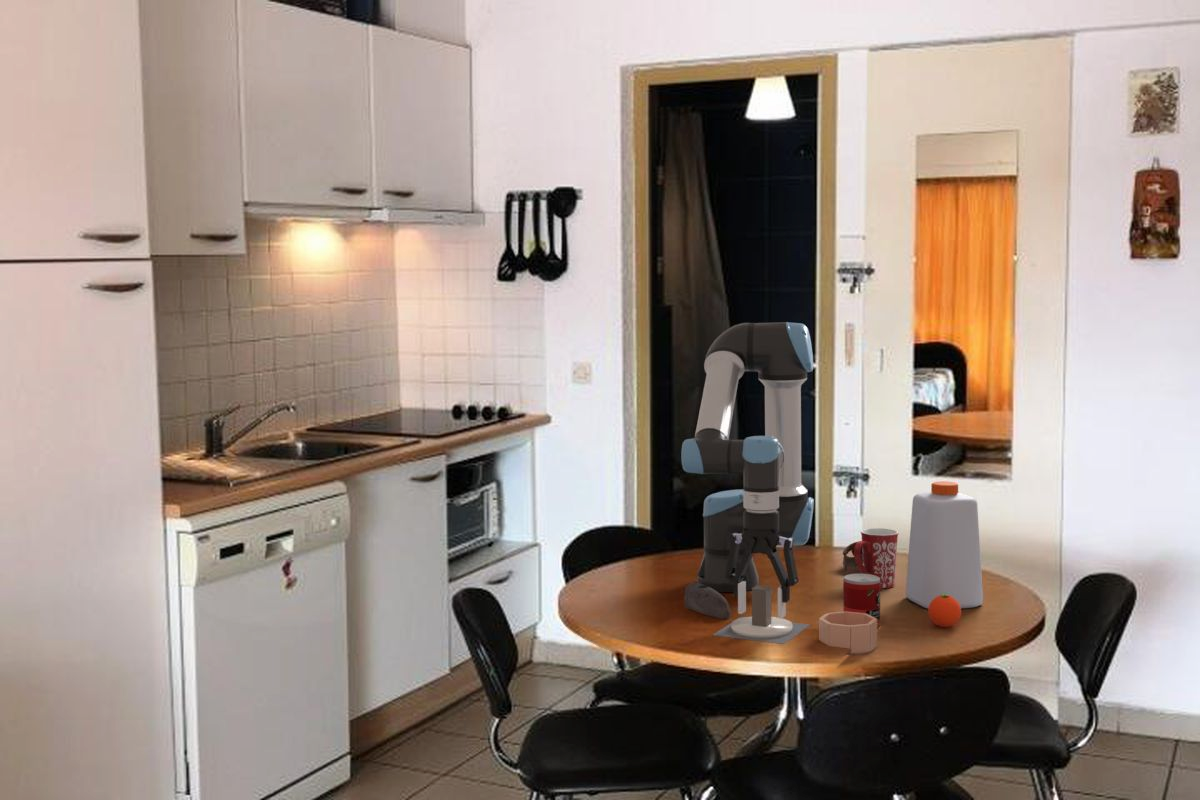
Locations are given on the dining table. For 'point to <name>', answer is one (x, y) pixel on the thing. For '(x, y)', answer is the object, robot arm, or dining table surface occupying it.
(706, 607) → the perforated stone tool
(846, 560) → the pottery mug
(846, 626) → the pink faceted pot
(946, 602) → the clementine
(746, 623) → the lid
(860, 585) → the canned food
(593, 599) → the dining table surface
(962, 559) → the plastic bottle
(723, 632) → the plate
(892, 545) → the mug
